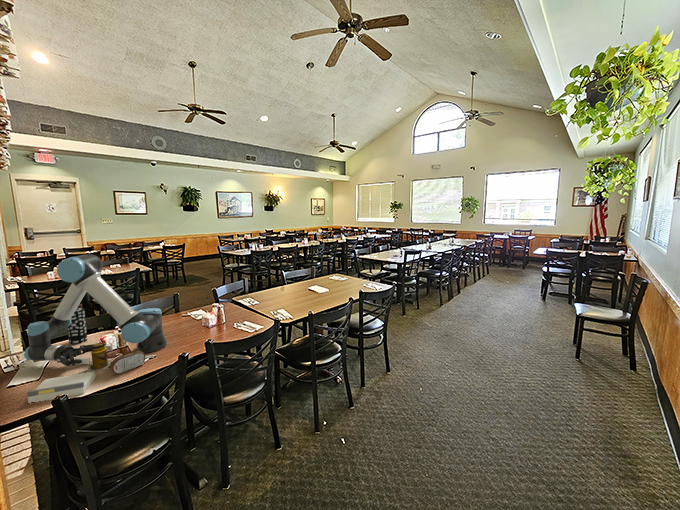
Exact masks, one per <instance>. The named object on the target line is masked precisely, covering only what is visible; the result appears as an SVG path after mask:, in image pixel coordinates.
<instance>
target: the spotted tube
mask: <svg viewBox="0 0 680 510" xmlns="http://www.w3.org/2000/svg"><path fill="white" fill-rule="evenodd" d="M86 323H87V322H86V313H85V308H84V307H77V309H76V310H75V312H74V314H73V315H72V317H71V324H70V326H68V327H67V328H66V329H67V336H68V344H69V346H75V345H76V346H77V345H80V344H83V343H86V342H87V341H88V332H87V324H86Z"/></svg>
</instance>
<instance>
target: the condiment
mask: <svg viewBox="0 0 680 510" xmlns="http://www.w3.org/2000/svg"><path fill="white" fill-rule="evenodd" d="M93 344H94V345H92V351H91V352H90V353H91V362H92V364H90V365H89V364H88V367H87V370H86V373H87V372H94V371H99V370H104V369H108V368H109V367H110V363H111V361H108V351H107V349H106V348H105V345H106V343H104V342H98V343H93Z"/></svg>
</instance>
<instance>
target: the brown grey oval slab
mask: <svg viewBox="0 0 680 510" xmlns="http://www.w3.org/2000/svg"><path fill="white" fill-rule="evenodd" d="M145 361H146V354H145V353H143V352H142V351H137V350H134V351H131V352H128V353H125V354H122V355H119V356H117V357H115V358H114V359H113V360H112V361H110V363H109V370H110V371H111V373H114V374H116V375H120V374H124V373H126V371H127V372H129V371H131V369H132V370H134V369H137V368H139V367H141V366H142V365H143V364H144V363H145ZM138 366H139V367H138ZM136 367H137V368H136ZM133 368H134V369H133ZM128 370H129V371H128Z"/></svg>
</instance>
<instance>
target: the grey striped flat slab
mask: <svg viewBox="0 0 680 510" xmlns="http://www.w3.org/2000/svg"><path fill="white" fill-rule="evenodd" d="M95 379H96V370H94V371H90V372H87V371H86V372H81V373H75V374H70V375H65V376H57V377H51V378H45V379H44V380H43V381H42V382H41V383H40V384H39V385H38V386H37V387H36V388H35V389H34V390H28V391H27V392H26V395H27V401H28V404H29V403H30V404H32V403H31V402H36V403H40V402H39V401H41V402H45V400H46V401H50V400H51V401H52V400H55V399H54V398H55V397H56V396H58V395H62V394H68V397H73V396H77V395H78V396H79V395H84V394H85V393H86V392H87V390H88V389H89V388H90V386H91V385H92V383H93V382H94V381H95Z"/></svg>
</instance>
